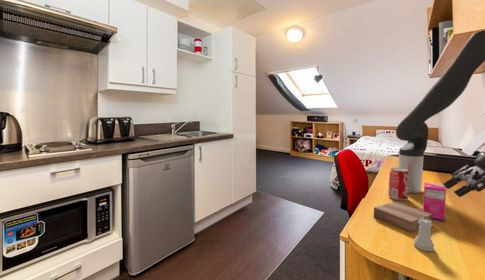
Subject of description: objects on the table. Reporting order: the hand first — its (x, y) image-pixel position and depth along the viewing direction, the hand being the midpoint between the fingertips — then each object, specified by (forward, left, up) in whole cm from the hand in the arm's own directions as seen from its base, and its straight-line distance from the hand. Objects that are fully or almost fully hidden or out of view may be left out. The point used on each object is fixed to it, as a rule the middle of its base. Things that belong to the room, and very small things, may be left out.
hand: (450, 190), depth 76 cm
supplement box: (+3, -3, -10) cm, 11 cm away
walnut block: (+16, -6, -11) cm, 20 cm away
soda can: (-4, -19, -10) cm, 22 cm away
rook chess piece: (+27, +6, -10) cm, 29 cm away
